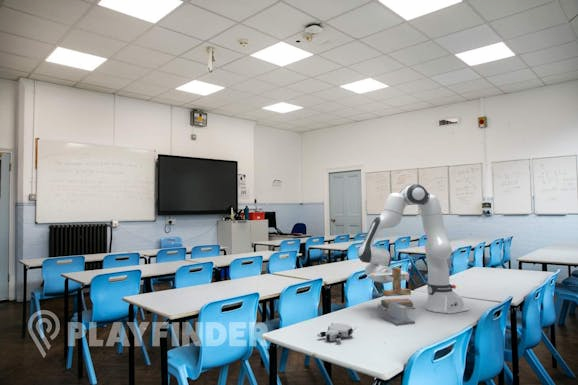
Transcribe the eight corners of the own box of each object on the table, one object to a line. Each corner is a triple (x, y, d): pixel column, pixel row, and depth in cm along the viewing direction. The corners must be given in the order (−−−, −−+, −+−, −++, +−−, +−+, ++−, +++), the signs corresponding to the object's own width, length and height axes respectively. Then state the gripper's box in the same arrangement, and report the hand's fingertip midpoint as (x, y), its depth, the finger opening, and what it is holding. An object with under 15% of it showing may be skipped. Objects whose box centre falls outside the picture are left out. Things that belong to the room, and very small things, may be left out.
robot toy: (340, 347, 160) (357, 335, 172) (339, 337, 160) (356, 325, 172) (315, 341, 167) (333, 330, 179) (315, 331, 167) (333, 320, 179)
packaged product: (407, 297, 226) (414, 301, 216) (407, 305, 226) (414, 309, 216) (377, 298, 224) (383, 302, 214) (377, 306, 224) (383, 311, 214)
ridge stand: (399, 316, 202) (398, 300, 202) (414, 323, 189) (414, 307, 189) (381, 317, 199) (381, 302, 200) (396, 325, 186) (395, 308, 186)
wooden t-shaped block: (407, 293, 198) (407, 266, 198) (410, 294, 195) (410, 267, 196) (382, 295, 194) (382, 268, 195) (385, 296, 191) (385, 268, 192)
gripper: (366, 269, 205) (378, 273, 191) (400, 268, 210) (415, 271, 197) (366, 281, 205) (378, 286, 191) (400, 279, 210) (415, 284, 197)
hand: (397, 279), depth 194 cm, fingers closed on wooden t-shaped block, 3 cm apart
